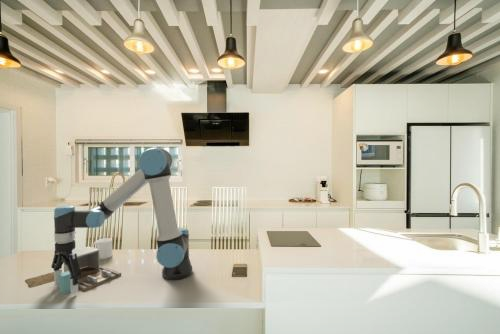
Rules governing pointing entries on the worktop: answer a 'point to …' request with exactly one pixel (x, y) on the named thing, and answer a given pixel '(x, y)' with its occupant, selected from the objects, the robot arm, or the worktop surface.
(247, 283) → the worktop surface
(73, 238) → the robot arm
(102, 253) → the cup
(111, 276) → the board
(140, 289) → the worktop surface
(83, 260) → the housing
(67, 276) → the teal block
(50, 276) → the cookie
